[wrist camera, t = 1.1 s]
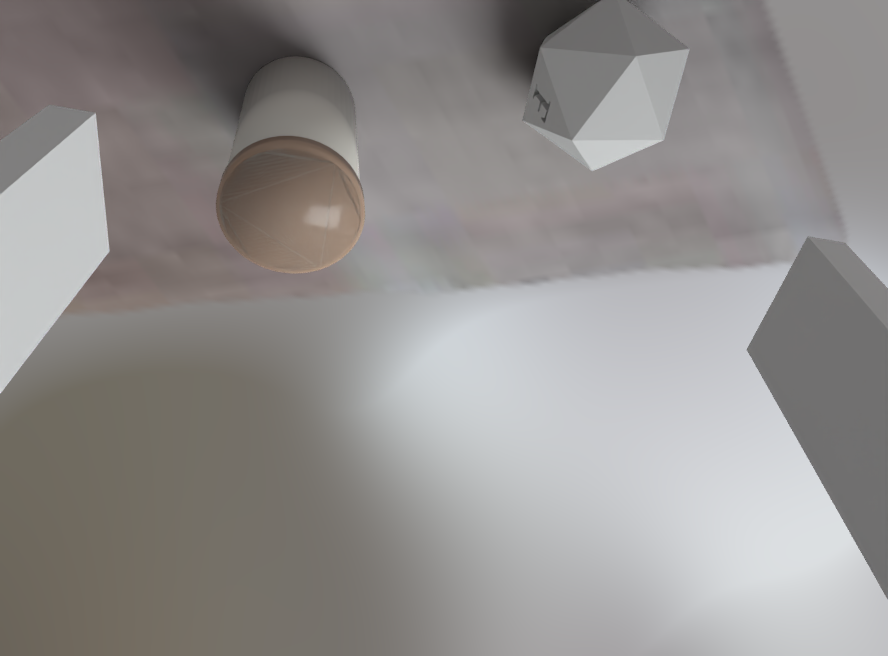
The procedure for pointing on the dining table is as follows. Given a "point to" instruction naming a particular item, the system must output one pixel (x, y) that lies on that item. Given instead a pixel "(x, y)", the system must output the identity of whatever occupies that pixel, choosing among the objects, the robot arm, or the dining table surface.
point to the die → (605, 83)
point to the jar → (293, 170)
